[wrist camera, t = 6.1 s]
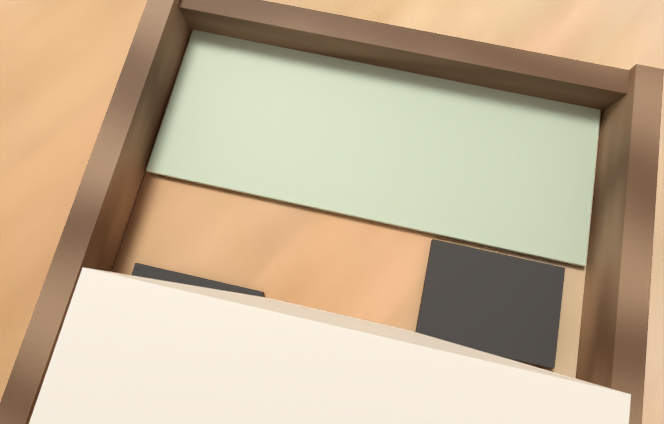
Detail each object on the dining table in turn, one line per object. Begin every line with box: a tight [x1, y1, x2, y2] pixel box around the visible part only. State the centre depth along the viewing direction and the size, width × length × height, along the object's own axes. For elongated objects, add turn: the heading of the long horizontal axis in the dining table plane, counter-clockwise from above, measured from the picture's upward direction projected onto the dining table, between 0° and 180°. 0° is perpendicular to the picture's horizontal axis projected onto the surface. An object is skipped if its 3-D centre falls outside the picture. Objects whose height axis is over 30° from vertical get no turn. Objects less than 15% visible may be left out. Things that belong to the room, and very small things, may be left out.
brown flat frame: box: [0, 0, 664, 424], centre depth 19 cm, size 26×24×2 cm
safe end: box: [146, 30, 601, 267], centre depth 21 cm, size 8×21×1 cm, turn 77°
